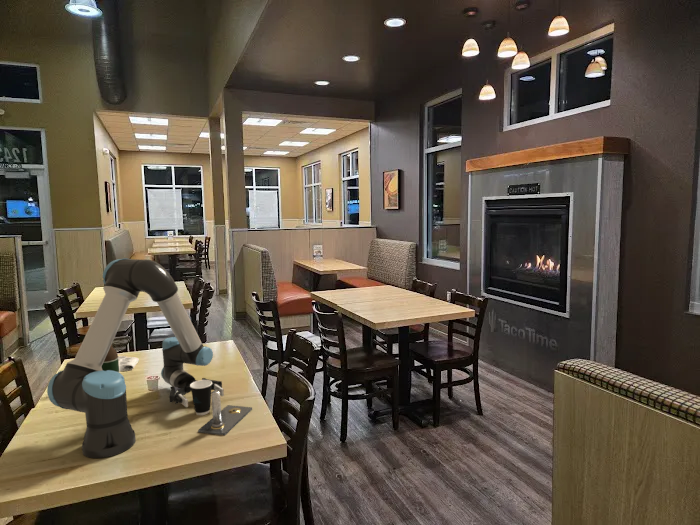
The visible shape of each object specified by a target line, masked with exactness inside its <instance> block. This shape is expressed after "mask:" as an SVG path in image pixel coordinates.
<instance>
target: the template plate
mask: <svg viewBox="0 0 700 525" xmlns="http://www.w3.org/2000/svg"><path fill="white" fill-rule="evenodd" d="M251 411H253V407H251V406H241V405H233V404H232V405H230V404H229V405H226V406H225V407H224V408H223V409H221V419H222V421H223V426H222V427H220V428H213V427H212V423H213V417H212V418H210V419H209V420H208V421H207V422H206V423H204V424H203V425H202V426H201V427H200V428H199V429H198V430H197V432H198V433H199V434H201V433H202V434H210V435H216V436H217V435H218V436H219V435H220V436H227V435H228V433H230V431H231V430H233V429H234V428H235V427H236V426H237V425H238V424H239V423H240V422H241V421H242V420H243V419H244V418H245V417H246V416H247V415H248V414H249V413H251Z"/></svg>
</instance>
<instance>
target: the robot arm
mask: <svg viewBox="0 0 700 525" xmlns="http://www.w3.org/2000/svg"><path fill="white" fill-rule="evenodd" d="M102 278H103V280H102V282H103V284H104V285H103V288H102V289H103V291H104V297H103V298H102V300H101V303H100V305H99V306H98V309H97V310H96V313H95V315H94V317H93V319H92V322H91V324H90V326H89V328H88V330H87V332H86V333H85V336H84V338H83V340H82V343H81V344H80V347H79V348H78V350H77V353H76V355H75V356H74V357H75V358H74V359H72V360H70V361H67V363H66V364H65V367H64V368H63V370H60V371H58V372H57V373H54V375H52V377H51V379H50V380H49V382H48V384H47V390H46V392H47V396H48V399H49V402H51V403H52V404H53V405H54V406H56V407H58V408H61V409H63V410H71V411H75V412H79V413H84V414H85V422H86V429H85V432H84V438H83V441H82V443H81V450H82V455H83V456H85V457H87V458H89V459H102V458H108V457H109V458H110V457H113V456H116V455H119V454H121V453H124V452H126V451H127V450H129V449H131V448H132V447H133V446H134V445H135V444H136V441H137V440H136V433H135V430H134V429H133V427H132V425H131V422H130V420H129V415H128V400H127V384H126V381H125V377H124V375H123V374H122V373H121V372H116V371H111V370H107V371H104V370H102V364H103V362H104V360H105V358H106V355H107V353H108V351H109V349H110V346H111V344H112V345H113V342H114V340H115V337H116V335H117V332H119V331H118V330H119V328H120V326H121V324H122V321H123V320H124V317H125V316H126V313H127V310H128V309H129V307H130V304H131V303H132V302H135V301H136V300H137V299H138V297H139V295H140V293H142V292H143V293H145V294H147V295H149V297H150V298H151V300H152V301H153V302H154V303H157V305H158V307H159V309H160V310H161V313H162V315H163V316H164V318H165V320H166V321H167V324H168V325H169V327H170V329H171V332H172V333H173V334H174V336H171V337H167V338H165V339H163V340H162V348H161V351H162V359H163V362H162V363H163V367H162V369H161V372H160V375H161V378H162V380H164V382H165V383H167V384H168V385H170V388H169V390H170V392H169V395H168V398H169V400H168V401H169V403H170V404H171V403H173V402H174V403H175V405H176V404H178V405H179V404H181V405H183V406H184V408H188V407H189V399H188V398H187V397H186V394H189V393H190V392H191V387H190V384H191V383H193V382H195V381H198V380H197V379H196V378H195V377H194V376H193V375H192V374H190V373H189V372H187V371H186V370H184V364H187V365H193V366H197V367H198V366H204V367H205V366H209V364H210V363H211V362H212V360H213V356H214V354H213V353H214V351H213V350H212V348H211V347H209V346H206V345H205V346H204V345H203V342H202V341H201V339H200V338H201V337H199V334H198V333H197V331H196V328H195V326H194V325H193V322H192V321H191V319H190V318H191V317H190V316H189V314H188V312H187V310H186V308H185V307H184V304H183V303H182V302H183V301H181V297H180V296H179V295H178V292H179V288H178V285H177V284H176V282H175V280H174V278H173V276H172V275H171V274H170V273H169V272H168V271H167V269H166V268H165V267H164V266H162V264H160V263H158V262H156V261H154V260H152V259H140V258H139V259H135V258H118V259H114V260H112V261H110V262H109V263H108V264H107V265H106V266H105V268H104V270H103V273H102ZM201 380H210V381H212V387H211V391H220V397H224V396H225V391H224V388H223V382H222V381H220V380H214V379H210V378H209V379H207V378H206V377H202V378H201ZM191 393H192V392H191Z"/></svg>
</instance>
